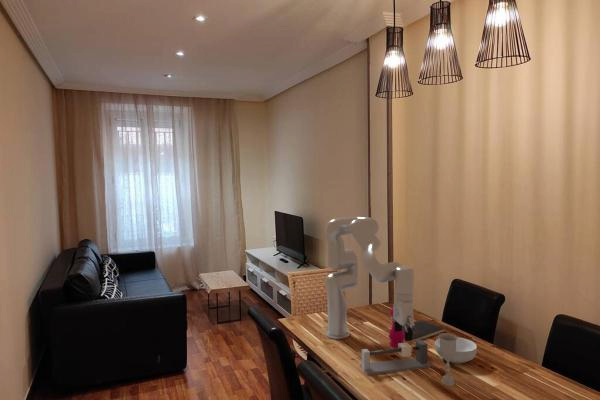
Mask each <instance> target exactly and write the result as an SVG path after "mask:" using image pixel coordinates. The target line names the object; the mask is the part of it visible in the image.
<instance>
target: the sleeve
mask: <svg viewBox="0 0 600 400" xmlns="http://www.w3.org/2000/svg"><path fill="white" fill-rule="evenodd" d="M410 345H411V344H409V342H404V343H398V348H402V352H397V353H398V354H399V355H400V356H401V357H402V358H403V357H404V358H405V357H410V356H412V352H411V346H410ZM398 348H397V349H398Z"/></svg>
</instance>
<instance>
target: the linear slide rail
mask: <svg viewBox="0 0 600 400" xmlns="http://www.w3.org/2000/svg"><path fill="white" fill-rule="evenodd" d="M409 345H410V346H411V353H413V352H414V351H415V357H409V358H400V359H399V358H398V359H393V360H384V361H376V362H371V356H374V355H375V356H376V355H383V354H394V353H398V352H402V348H390V349H381V350H373V351H369V349H368V348H363V349H361V363H360V365H359V366H360V368H361V370H362V371H363V373H364V374H366V375H367V376H372V375H373V376H375V375H380V374H389V373H395V372H403V371H410V370H411V371H412V370H420V369H427V368H429V369H430V368H431V367H432V365H431V363H430V362H428V343H427V342H426V341H425V340H424V339H421V340H418V341H415V346H413V345H411V344H409Z"/></svg>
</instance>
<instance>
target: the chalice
mask: <svg viewBox="0 0 600 400" xmlns="http://www.w3.org/2000/svg"><path fill="white" fill-rule="evenodd" d="M438 337H439V338H440V350H441V353H442V355H443V358H442V359H444V360H445V361H446V364H445V366H446V369H445V371H446V374H445V375H443V376H442V379H441V381H440V382H441V384H443V385H444V386H447V387H448V386H450V387H451V386H454V385H455V384H456V383H455V381H454V380H455V379H454V378H453V376H452V375H450V372H451V369H450V367H451V365H450V362H449V361H451V360H452V359H453V357H454V355H455V352H456V340H457V337H458V336H456V335H455V334H453V333H448V332H441V333H439V334H438ZM439 338H438V339H439Z"/></svg>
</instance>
